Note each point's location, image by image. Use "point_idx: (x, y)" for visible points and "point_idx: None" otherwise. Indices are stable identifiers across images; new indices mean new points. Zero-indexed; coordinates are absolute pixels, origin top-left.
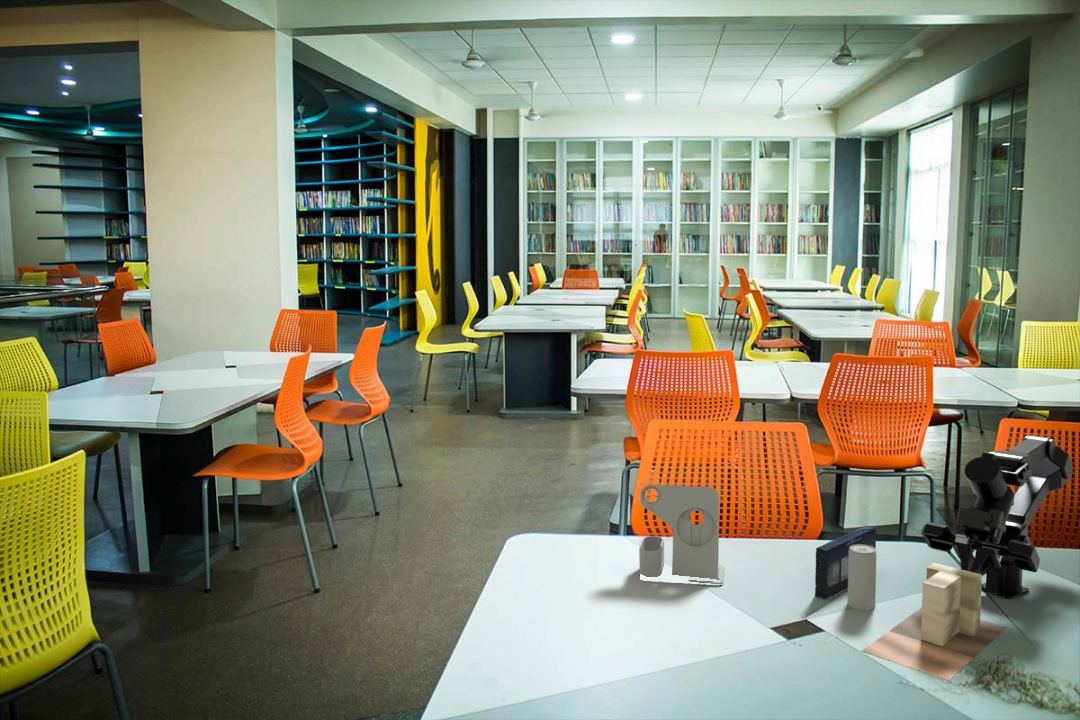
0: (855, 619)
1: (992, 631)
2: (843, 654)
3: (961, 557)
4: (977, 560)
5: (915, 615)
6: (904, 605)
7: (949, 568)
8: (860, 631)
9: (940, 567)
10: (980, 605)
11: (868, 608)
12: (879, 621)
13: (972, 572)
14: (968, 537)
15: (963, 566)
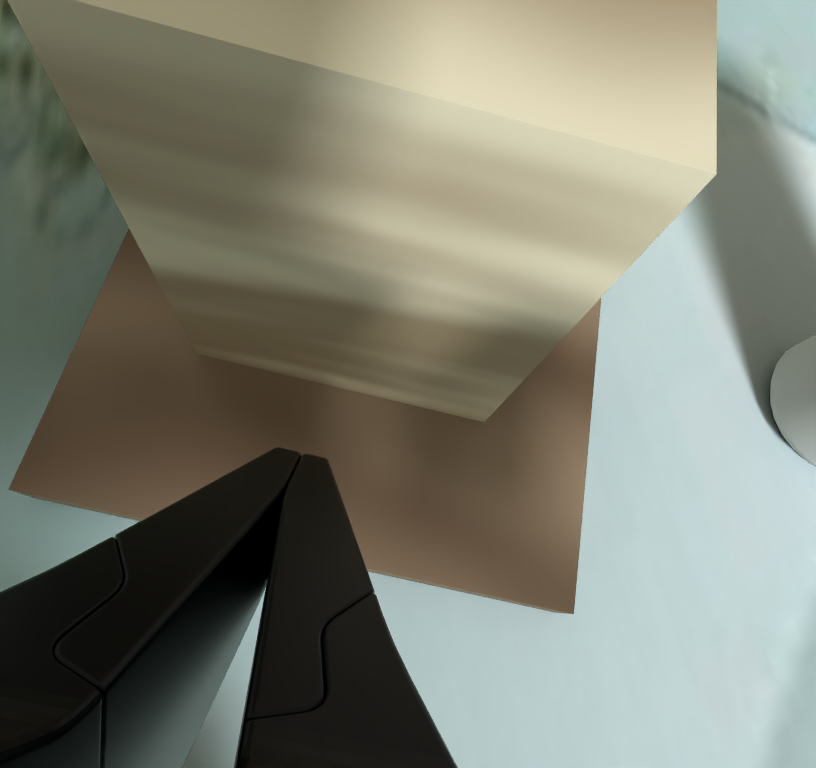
0: (793, 301)
1: (116, 371)
2: None
3: (402, 729)
4: (20, 667)
5: (570, 391)
6: (687, 630)
7: (472, 46)
8: (716, 193)
9: (585, 47)
10: (148, 259)
11: (803, 346)
12: (700, 329)
13: (142, 11)
14: None
15: (333, 591)
